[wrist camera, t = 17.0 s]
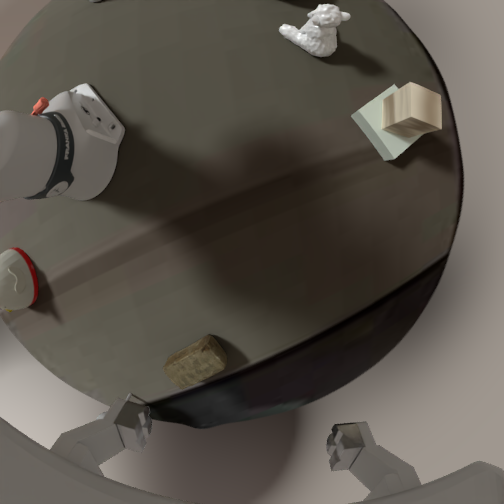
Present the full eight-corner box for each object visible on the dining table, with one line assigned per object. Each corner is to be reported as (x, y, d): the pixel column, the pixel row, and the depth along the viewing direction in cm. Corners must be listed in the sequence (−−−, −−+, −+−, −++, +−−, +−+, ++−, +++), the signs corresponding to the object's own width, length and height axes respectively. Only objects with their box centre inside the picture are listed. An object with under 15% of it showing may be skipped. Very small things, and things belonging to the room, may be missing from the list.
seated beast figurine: (324, 18, 32) (340, -20, 21) (349, 54, 34) (375, 20, 22) (276, 30, 33) (282, -11, 22) (301, 67, 35) (315, 31, 23)
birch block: (381, 129, 34) (411, 116, 25) (382, 99, 33) (410, 81, 24) (408, 137, 34) (441, 129, 25) (409, 109, 33) (440, 95, 24)
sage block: (349, 116, 37) (358, 110, 33) (384, 91, 36) (394, 84, 32) (383, 160, 39) (394, 159, 35) (415, 133, 37) (427, 130, 33)
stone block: (230, 352, 47) (228, 369, 42) (185, 377, 49) (179, 393, 44) (210, 330, 46) (205, 345, 41) (165, 356, 48) (157, 372, 43)
